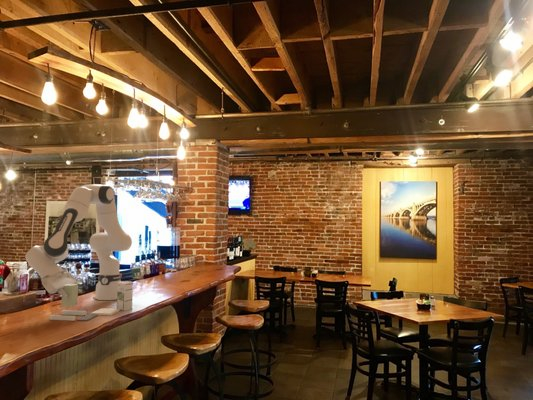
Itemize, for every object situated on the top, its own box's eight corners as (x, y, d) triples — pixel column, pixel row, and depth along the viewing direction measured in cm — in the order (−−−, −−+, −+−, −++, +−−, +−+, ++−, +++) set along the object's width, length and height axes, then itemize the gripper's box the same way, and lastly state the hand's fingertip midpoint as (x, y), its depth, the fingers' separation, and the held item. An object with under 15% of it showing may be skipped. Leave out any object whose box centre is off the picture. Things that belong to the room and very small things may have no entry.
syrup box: (132, 309, 210) (133, 281, 211) (123, 311, 205) (124, 283, 206) (125, 307, 213) (126, 280, 214) (116, 309, 208) (117, 281, 209)
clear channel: (63, 314, 196) (63, 310, 196) (98, 315, 195) (98, 311, 195) (50, 319, 185) (50, 315, 185) (87, 321, 184) (87, 316, 184)
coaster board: (100, 310, 206) (100, 308, 206) (119, 311, 205) (119, 309, 205) (91, 314, 196) (91, 312, 196) (110, 315, 195) (110, 313, 195)
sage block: (67, 304, 193) (68, 283, 194) (77, 304, 193) (78, 284, 193) (61, 306, 188) (62, 285, 189) (71, 306, 188) (72, 285, 188)
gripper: (44, 273, 181) (64, 295, 180) (67, 267, 202) (85, 287, 201) (34, 282, 181) (54, 304, 180) (58, 275, 202) (76, 295, 201)
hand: (71, 295), depth 191 cm, fingers closed on sage block, 5 cm apart
